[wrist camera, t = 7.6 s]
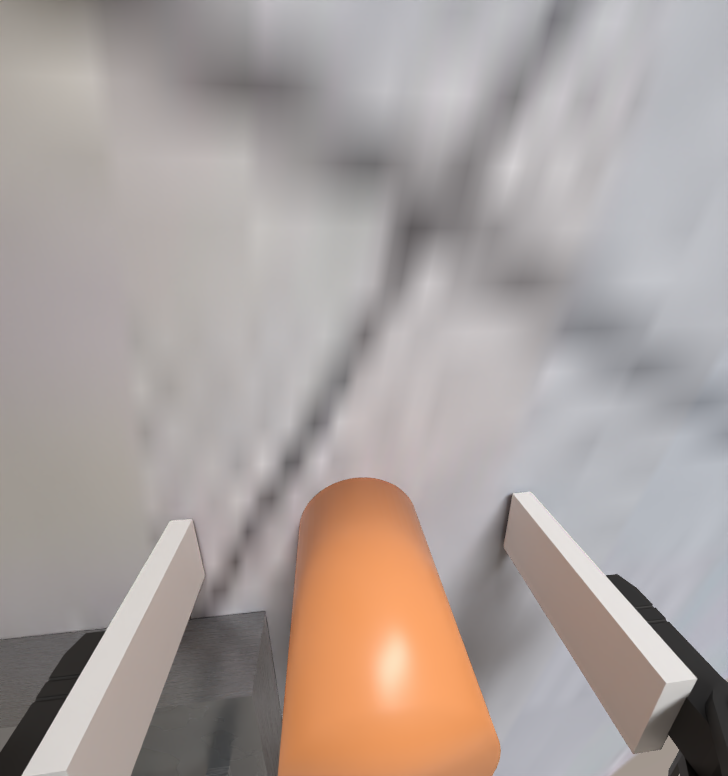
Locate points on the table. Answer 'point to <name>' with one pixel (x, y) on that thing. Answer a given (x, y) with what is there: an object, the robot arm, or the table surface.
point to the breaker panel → (179, 698)
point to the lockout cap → (376, 649)
